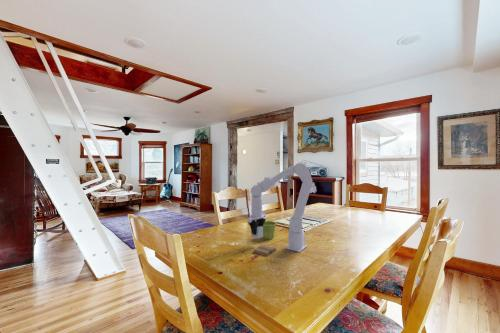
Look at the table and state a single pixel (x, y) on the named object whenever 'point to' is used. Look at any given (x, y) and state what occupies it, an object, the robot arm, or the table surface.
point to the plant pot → (269, 229)
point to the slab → (264, 250)
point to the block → (258, 232)
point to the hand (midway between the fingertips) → (257, 233)
